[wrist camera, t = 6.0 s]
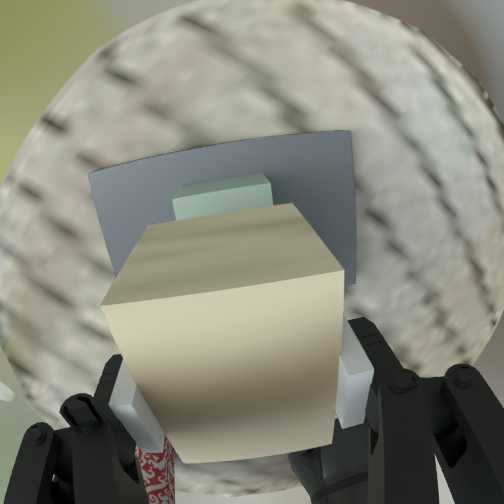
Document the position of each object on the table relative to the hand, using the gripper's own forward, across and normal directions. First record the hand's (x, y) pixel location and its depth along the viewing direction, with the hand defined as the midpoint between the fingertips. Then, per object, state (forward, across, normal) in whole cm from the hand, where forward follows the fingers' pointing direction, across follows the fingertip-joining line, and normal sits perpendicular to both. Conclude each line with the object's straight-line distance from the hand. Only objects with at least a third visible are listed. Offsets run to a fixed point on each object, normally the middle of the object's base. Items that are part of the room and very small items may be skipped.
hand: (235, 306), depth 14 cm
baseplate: (+12, 0, 0) cm, 12 cm away
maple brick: (0, 0, 0) cm, 0 cm away
